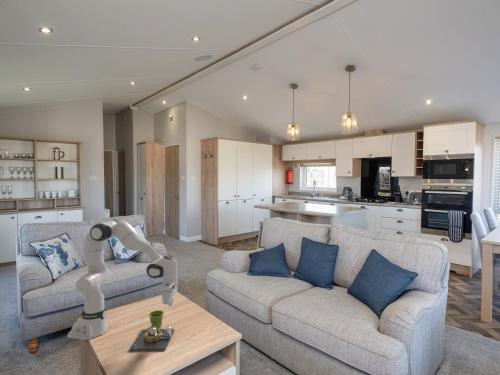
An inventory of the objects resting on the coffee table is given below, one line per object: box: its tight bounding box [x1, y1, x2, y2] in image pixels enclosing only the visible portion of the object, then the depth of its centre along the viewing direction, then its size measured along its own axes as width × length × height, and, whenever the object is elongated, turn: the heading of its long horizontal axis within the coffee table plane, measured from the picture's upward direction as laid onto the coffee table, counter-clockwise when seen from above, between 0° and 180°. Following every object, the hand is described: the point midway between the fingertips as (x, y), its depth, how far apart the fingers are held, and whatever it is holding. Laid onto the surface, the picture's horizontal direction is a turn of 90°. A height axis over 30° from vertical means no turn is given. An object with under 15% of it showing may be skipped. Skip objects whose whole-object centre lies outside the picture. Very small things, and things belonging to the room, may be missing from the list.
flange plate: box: [129, 326, 175, 352], centre depth 173 cm, size 20×20×8 cm
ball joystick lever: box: [144, 325, 172, 343], centre depth 173 cm, size 16×10×6 cm, turn 90°
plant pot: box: [148, 309, 165, 329], centre depth 189 cm, size 9×9×9 cm
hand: (170, 305), depth 177 cm, fingers closed
